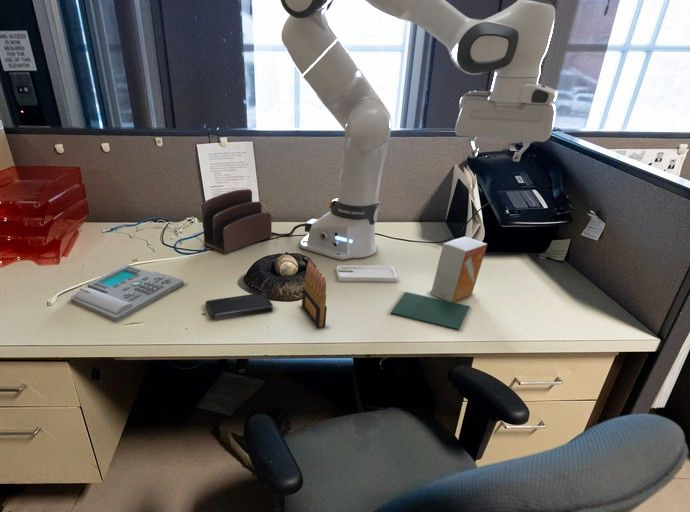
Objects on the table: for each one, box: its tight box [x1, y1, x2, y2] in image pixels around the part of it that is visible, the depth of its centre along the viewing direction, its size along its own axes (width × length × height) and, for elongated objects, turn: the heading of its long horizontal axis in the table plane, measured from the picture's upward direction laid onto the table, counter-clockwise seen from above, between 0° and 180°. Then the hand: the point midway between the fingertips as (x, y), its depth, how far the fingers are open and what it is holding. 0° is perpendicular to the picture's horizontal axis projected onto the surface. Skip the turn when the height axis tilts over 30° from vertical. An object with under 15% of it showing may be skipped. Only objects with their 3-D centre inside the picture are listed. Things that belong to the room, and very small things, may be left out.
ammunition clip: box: [301, 259, 328, 329], centre depth 105 cm, size 11×2×12 cm, turn 13°
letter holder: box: [201, 188, 273, 255], centre depth 143 cm, size 10×20×14 cm, turn 132°
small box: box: [430, 236, 488, 303], centre depth 112 cm, size 8×6×13 cm
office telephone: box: [70, 264, 185, 323], centre depth 119 cm, size 23×3×20 cm
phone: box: [205, 292, 274, 321], centre depth 112 cm, size 8×1×15 cm
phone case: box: [335, 264, 398, 283], centre depth 125 cm, size 7×1×15 cm
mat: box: [390, 291, 470, 331], centre depth 110 cm, size 15×12×1 cm
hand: (493, 159), depth 112 cm, fingers open, 8 cm apart
